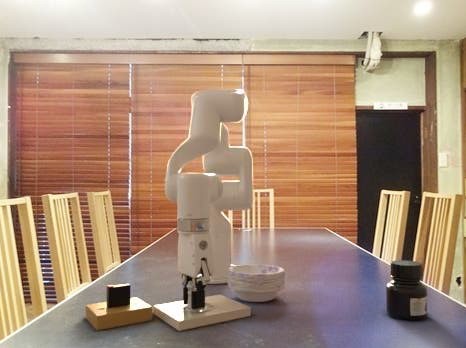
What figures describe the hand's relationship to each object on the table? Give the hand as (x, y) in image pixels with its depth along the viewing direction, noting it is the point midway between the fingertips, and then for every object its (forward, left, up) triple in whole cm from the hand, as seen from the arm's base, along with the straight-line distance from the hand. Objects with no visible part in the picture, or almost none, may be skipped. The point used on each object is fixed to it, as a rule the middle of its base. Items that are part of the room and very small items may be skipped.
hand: (193, 305), depth 99 cm
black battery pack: (+15, -8, 0) cm, 17 cm away
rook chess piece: (0, 0, -3) cm, 3 cm away
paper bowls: (-21, -5, -3) cm, 22 cm away
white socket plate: (-2, 0, -3) cm, 3 cm away
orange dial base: (+15, -8, -3) cm, 17 cm away
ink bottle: (-41, +27, -3) cm, 49 cm away
